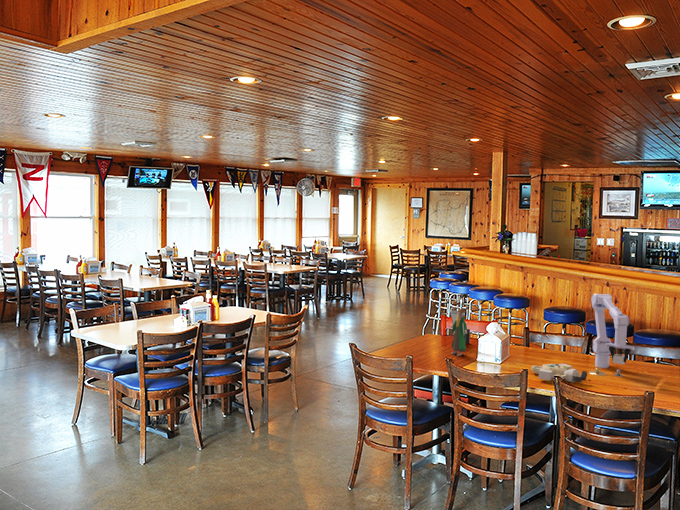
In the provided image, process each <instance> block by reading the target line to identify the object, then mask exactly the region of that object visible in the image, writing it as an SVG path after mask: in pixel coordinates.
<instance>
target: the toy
mask: <svg viewBox="0 0 680 510" xmlns="http://www.w3.org/2000/svg"><path fill="white" fill-rule="evenodd" d="M531 371H532V372H533V373H535V374H538V379H539V380H544V381H554V380H553V377H554V376H560V377H561V378H562V379H563V380H562V381H564V380H565V381H566V382H569V383H575V382H579V383H582V381H586V379H587V376H588V372H587V371H585V370H582V371H581V372H582V373H580V371H578V370H577V369H575V368H573V365H569V364H566V363H548V364H547V363H544V364H542V365H532V366H531Z"/></svg>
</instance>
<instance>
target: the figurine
mask: <svg viewBox="0 0 680 510" xmlns="http://www.w3.org/2000/svg"><path fill="white" fill-rule="evenodd" d="M456 311H457V317H456V321H455V322H454V324H453V323H452V325H451V326H449V329H451V332H452V333H453V332H454V331H455V333H454V338H452V344H451V349H452V350H453V351H452V352H451V355H456V357H462V355H463V354H462V353H465V352H467V347H466V345H467V344H465V339H464V333H463V323H464V328H465V337H466V334H467V329H468V326H467V323H466V319H465V317H464V318H463V317H462V316H463V314H464V313H467V311H466V309H465V308H463V307H462V308H459V309H458V310H456ZM462 312H463V313H462ZM464 319H465V320H464Z"/></svg>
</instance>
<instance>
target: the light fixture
mask: <svg viewBox="0 0 680 510" xmlns="http://www.w3.org/2000/svg"><path fill="white" fill-rule="evenodd" d="M457 311H458V310H450V312H449V314H450V318H451V320H452V325H453V324H454V322H455V321H456V317H457ZM462 313H464V312H462ZM462 317H463V318H464V320H465V321H466V319H465V315H464V314H463V316H462ZM454 333H455V331H454V332H453V338H454ZM463 333H464V339H465V345H467V344H470V343H471V342H470V340H471V329H469V328H467V334H466V337H465V328H464V323H463ZM453 338H452V339H453Z"/></svg>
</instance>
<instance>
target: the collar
mask: <svg viewBox="0 0 680 510" xmlns="http://www.w3.org/2000/svg"><path fill="white" fill-rule="evenodd" d="M624 357H625V354H619V353H618V354H617V353H615V355H613V361H612V363H613V364H617V365H624V364H625V362H624Z"/></svg>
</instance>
